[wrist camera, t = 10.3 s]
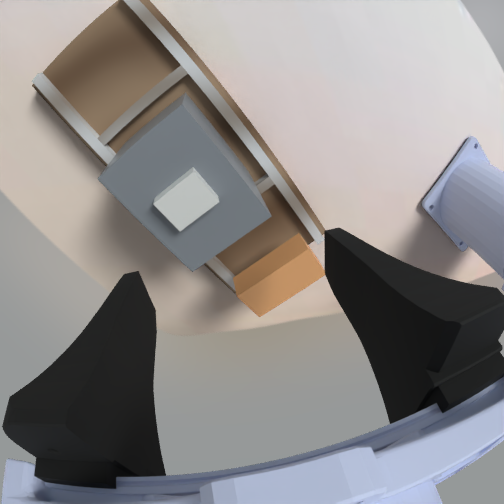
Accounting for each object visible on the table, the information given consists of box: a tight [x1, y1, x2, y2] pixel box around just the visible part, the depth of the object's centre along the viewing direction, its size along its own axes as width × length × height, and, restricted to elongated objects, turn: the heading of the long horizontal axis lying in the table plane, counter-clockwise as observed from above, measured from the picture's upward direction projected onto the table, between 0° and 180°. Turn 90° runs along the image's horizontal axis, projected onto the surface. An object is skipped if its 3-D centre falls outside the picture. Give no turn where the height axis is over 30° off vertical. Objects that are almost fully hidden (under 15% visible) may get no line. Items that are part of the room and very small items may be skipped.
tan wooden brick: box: [233, 233, 325, 317], centre depth 20 cm, size 2×5×2 cm, turn 125°
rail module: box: [98, 92, 272, 272], centre depth 15 cm, size 6×4×7 cm
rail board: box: [32, 0, 326, 293], centre depth 18 cm, size 20×8×2 cm, turn 35°
